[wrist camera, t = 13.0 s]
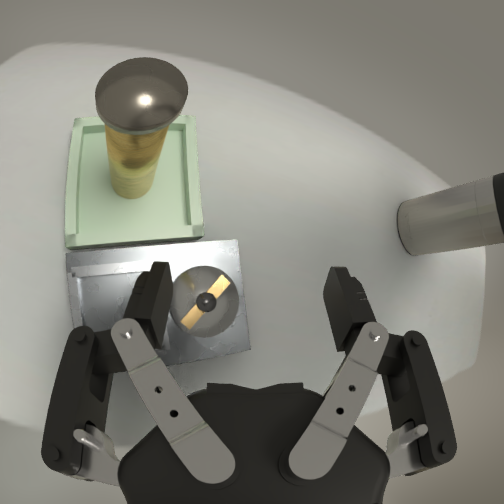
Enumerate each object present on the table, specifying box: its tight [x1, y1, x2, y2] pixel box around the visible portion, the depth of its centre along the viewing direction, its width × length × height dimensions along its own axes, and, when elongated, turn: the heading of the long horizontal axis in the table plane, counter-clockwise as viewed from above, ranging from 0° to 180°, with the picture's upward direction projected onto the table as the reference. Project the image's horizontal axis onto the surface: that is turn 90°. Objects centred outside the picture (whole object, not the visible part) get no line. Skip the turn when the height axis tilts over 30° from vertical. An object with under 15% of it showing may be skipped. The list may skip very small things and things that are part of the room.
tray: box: [65, 115, 204, 250], centre depth 22 cm, size 12×12×2 cm
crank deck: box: [66, 239, 251, 372], centre depth 22 cm, size 15×10×3 cm, turn 98°
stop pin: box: [95, 57, 188, 199], centre depth 17 cm, size 5×5×13 cm
